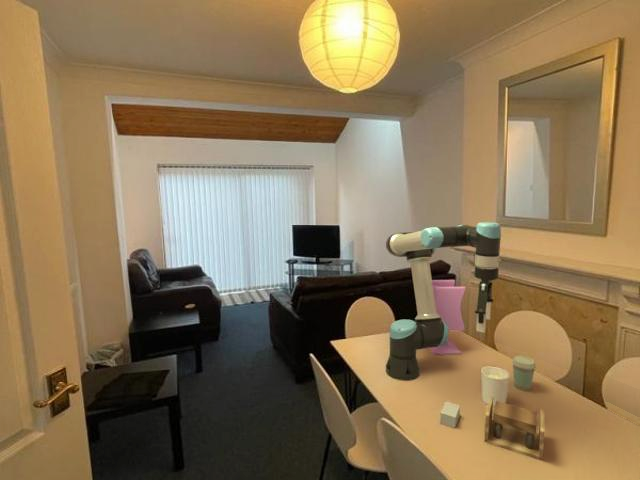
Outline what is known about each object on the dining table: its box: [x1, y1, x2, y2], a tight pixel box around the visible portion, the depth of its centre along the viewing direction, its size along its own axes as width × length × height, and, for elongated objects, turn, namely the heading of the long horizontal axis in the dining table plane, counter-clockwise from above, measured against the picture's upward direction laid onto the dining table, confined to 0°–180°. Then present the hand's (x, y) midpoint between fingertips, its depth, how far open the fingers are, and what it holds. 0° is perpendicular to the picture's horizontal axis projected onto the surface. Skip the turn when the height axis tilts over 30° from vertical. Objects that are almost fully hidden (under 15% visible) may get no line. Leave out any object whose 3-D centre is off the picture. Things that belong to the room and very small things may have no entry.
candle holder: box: [480, 365, 510, 408], centre depth 134 cm, size 10×10×12 cm
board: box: [492, 401, 538, 435], centre depth 113 cm, size 12×8×3 cm, turn 58°
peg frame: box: [484, 396, 545, 462], centre depth 113 cm, size 16×12×10 cm
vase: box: [429, 279, 466, 356], centre depth 179 cm, size 16×16×35 cm
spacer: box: [439, 401, 461, 429], centre depth 124 cm, size 8×5×4 cm, turn 148°
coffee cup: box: [511, 355, 537, 392], centre depth 143 cm, size 8×8×12 cm
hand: (483, 324), depth 124 cm, fingers open, 13 cm apart
